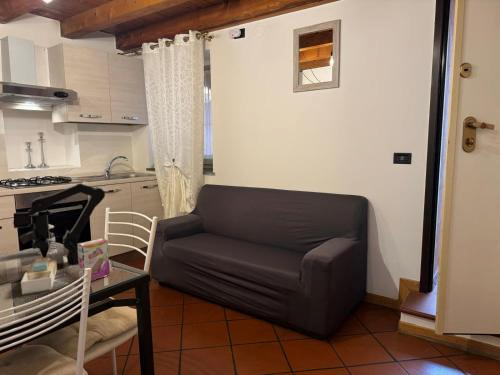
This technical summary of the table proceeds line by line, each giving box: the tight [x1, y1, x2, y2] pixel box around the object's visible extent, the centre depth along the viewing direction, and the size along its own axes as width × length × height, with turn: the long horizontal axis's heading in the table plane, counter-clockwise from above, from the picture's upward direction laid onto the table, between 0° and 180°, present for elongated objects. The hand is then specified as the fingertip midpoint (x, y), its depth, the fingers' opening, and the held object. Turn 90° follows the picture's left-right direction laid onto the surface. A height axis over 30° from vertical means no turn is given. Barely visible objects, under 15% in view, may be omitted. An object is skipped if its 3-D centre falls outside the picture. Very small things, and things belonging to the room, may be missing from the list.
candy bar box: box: [77, 238, 110, 281], centre depth 146 cm, size 11×5×16 cm, turn 141°
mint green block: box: [33, 261, 48, 272], centre depth 148 cm, size 5×5×2 cm
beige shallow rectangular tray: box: [26, 258, 58, 281], centre depth 152 cm, size 10×16×4 cm, turn 25°
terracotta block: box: [34, 256, 51, 266], centre depth 154 cm, size 5×5×2 cm
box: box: [20, 269, 55, 295], centre depth 140 cm, size 10×11×5 cm
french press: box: [32, 223, 58, 256], centre depth 181 cm, size 10×12×25 cm
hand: (44, 257), depth 161 cm, fingers closed
